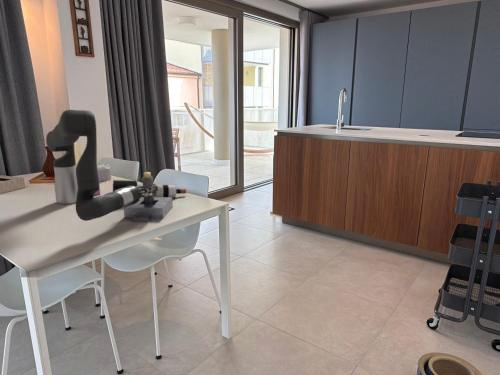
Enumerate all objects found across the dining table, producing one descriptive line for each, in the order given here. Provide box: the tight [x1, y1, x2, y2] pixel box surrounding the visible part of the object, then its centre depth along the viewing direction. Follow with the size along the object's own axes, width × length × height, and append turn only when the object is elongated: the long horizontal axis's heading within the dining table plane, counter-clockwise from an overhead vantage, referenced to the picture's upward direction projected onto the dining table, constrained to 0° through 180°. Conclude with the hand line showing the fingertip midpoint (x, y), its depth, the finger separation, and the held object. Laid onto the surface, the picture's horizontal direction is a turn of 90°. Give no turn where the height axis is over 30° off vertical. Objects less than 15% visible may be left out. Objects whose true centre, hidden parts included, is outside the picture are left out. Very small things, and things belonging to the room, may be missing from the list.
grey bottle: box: [141, 171, 155, 205], centre depth 150 cm, size 4×4×16 cm
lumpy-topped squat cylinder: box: [97, 163, 112, 182], centre depth 212 cm, size 10×13×9 cm
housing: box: [123, 197, 174, 223], centre depth 151 cm, size 16×24×4 cm, turn 178°
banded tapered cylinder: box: [112, 179, 187, 198], centre depth 170 cm, size 10×34×10 cm, turn 114°
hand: (152, 187), depth 152 cm, fingers closed on grey bottle, 4 cm apart
